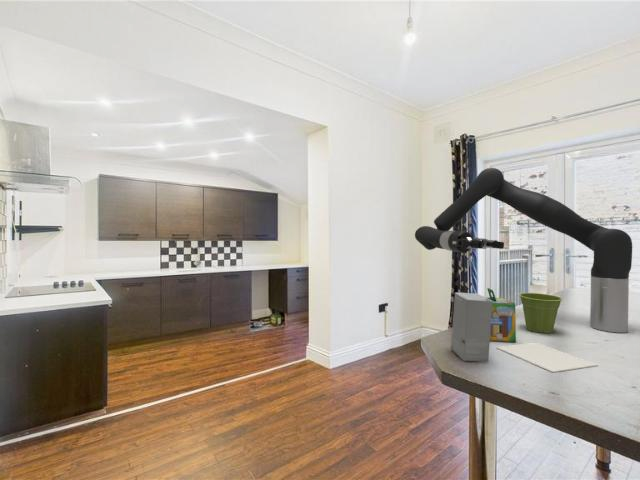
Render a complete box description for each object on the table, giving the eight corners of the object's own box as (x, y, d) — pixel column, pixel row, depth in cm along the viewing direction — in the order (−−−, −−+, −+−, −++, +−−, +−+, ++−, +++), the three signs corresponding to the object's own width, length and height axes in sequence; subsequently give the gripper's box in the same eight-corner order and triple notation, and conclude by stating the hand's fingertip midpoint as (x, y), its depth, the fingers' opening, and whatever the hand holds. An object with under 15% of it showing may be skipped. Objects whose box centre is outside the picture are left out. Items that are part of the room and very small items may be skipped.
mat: (496, 348, 86) (496, 347, 86) (535, 343, 90) (535, 342, 90) (552, 372, 71) (552, 371, 71) (597, 366, 74) (597, 364, 74)
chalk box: (516, 343, 90) (516, 292, 90) (482, 341, 92) (482, 291, 92) (504, 333, 99) (504, 287, 99) (473, 331, 101) (473, 286, 101)
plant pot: (517, 331, 101) (518, 297, 100) (518, 323, 110) (518, 291, 110) (564, 338, 94) (564, 301, 94) (560, 328, 104) (561, 295, 104)
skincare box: (450, 349, 85) (450, 292, 85) (476, 349, 85) (477, 292, 85) (463, 362, 77) (464, 298, 76) (493, 362, 77) (493, 298, 76)
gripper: (440, 230, 111) (475, 232, 96) (472, 231, 115) (511, 234, 100) (438, 251, 112) (473, 257, 96) (470, 251, 116) (509, 257, 101)
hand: (492, 245), depth 98 cm, fingers open, 8 cm apart
